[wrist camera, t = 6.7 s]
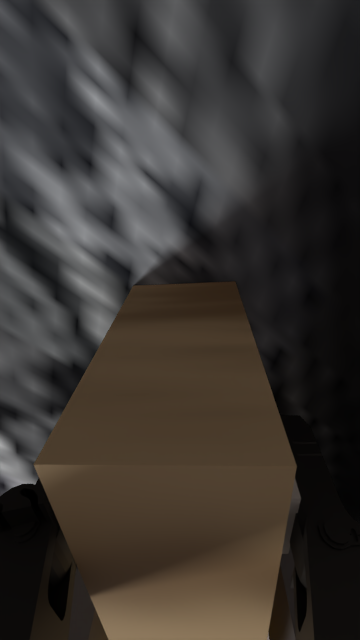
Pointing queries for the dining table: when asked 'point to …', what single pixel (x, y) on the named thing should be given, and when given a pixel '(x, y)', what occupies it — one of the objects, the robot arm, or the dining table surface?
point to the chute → (91, 636)
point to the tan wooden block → (174, 470)
